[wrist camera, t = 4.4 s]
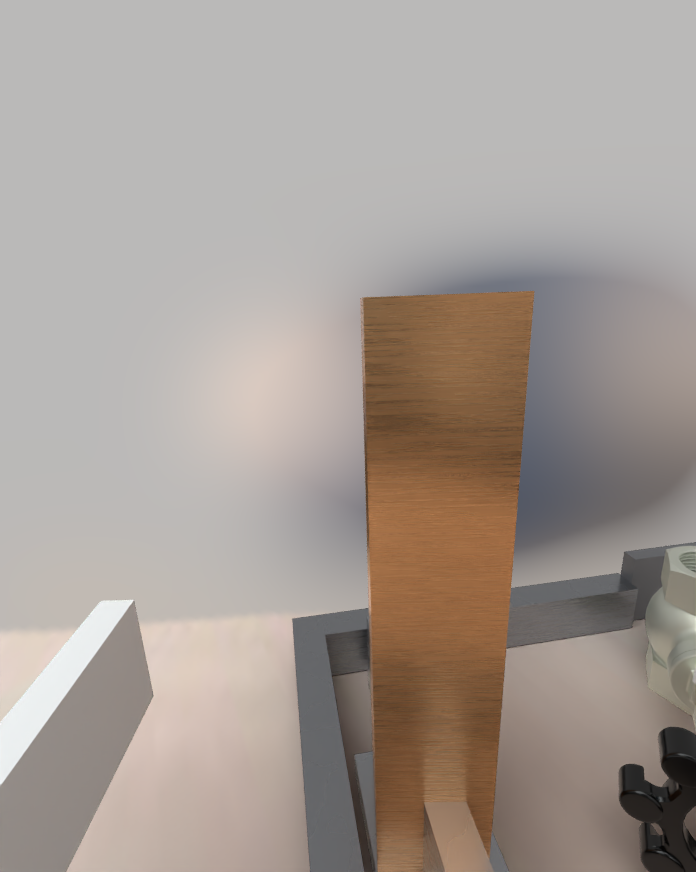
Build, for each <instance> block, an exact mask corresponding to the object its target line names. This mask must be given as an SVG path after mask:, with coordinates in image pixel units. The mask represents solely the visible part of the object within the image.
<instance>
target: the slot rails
mask: <svg viewBox="0 0 696 872" xmlns="http://www.w3.org/2000/svg"><path fill="white" fill-rule="evenodd" d="M637 594H638V588H637V587H635V586H634V585H633V584H631V583H630V582H629V581H628V580H626V579H625V578H624V577H622V576H621V575H620V574H618V573H616V574H609V575H602V576H595V577H587V578H580V579H573V580H566V581H559V582H551V583H544V584H537V585H530V586H523V587H516V588H511V593H510V605H509V618H508V631H507V643H506V648H508V647H514V646H521V645H527V644H533V643H539V642H546V641H552V640H558V639H564V638H570V637H577V636H583V635H589V634H595V633H602V632H608V631H614V630H620V629H627V628H632V623H633V618H634V612H635V606H636V600H637ZM367 616H369V608H366V609H359V610H351V611H344V612H337V613H330V614H323V615H316V616H308V617H301V618H294V619H292V621H293V635H294V649H295V663H296V677H297V692H298V706H299V720H300V734H301V748H302V762H303V777H304V791H305V805H306V819H307V833H308V847H309V862H310V872H364V868H363V862H362V856H361V850H360V844H359V838H358V832H357V826H356V819H355V813H354V807H353V801H352V795H351V789H350V783H349V777H348V771H347V765H346V759H345V753H344V747H343V741H342V735H341V729H340V723H339V717H338V711H337V705H336V699H335V693H334V687H333V680H332V676H334V675H340V674H346V673H352V672H359V671H365V670H368V651H367Z"/></svg>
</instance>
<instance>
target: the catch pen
mask: <svg viewBox="0 0 696 872" xmlns="http://www.w3.org/2000/svg"><path fill="white" fill-rule="evenodd" d="M680 546H696V542H694V543H687V544H679V545H671V546H664V547H656V548H649V549H641V550H634V551H626V552H624V557H623V564H622V570H621V576H622V577H624V578H625V579H626V580H628V581H629V582H630V583H631V584H633V585H634V586H635V587H637V588H638V594H637V600H636V606H635V612H634V618H633V620H639V619H645V615H646V609H647V606H648V604H649V602H650V600H651V598H652V596H653V595H654V594H655V593H656V592H657V591H658V590H659V589H660V588H661V587H662V582H661V573H662V568H663V563H664V557H665V552H666V549H670V548H674V547H680Z"/></svg>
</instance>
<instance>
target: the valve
mask: <svg viewBox="0 0 696 872" xmlns="http://www.w3.org/2000/svg"><path fill="white" fill-rule="evenodd" d="M661 582H662V587H661V588H660V589H659V590H658V591H657V592H656V593H655V594H654V595H653V596H652V598H651V600H650V602H649V604H648V606H647V609H646V615H645V626H646V632H647V636H648V638H649V644H648V649H647V654H646V672H647V683H648V688H649V689H651V690H652V691H654V692H655V693H657V694H658V695H660V696H662V697H663V698H665V699H666V700H668V701H669V702H671V703H672V704H674V705H675V706H677V707H678V708H680V709H682V710H683V711H685V712H686V713H688V714H689V715H691V716H693V721H694V726H695V731H696V684H695V683H694V682H693V681H692V680H693V676H694V671H695V667H696V546H680V547H674V548H670V549H666V552H665V557H664V563H663V568H662V573H661ZM658 742H659V752H660V762H661V767H662V769H663V771H664V772H665V774H666V775H667V776H668V777H669V779H668V780H667V781H666V782H665V783H664V785H663V787H658V786H655V785H653V784H651V783H649V782H648V781H646V780H644V768H643V767H642V766H640V765H636V764H626V765H624V766H622V767H621V768H620V769H619V801H620V804H621V806H622V808H623V809H624V810H625V811H626V812H627V813H628V814H629V815H630V816H632V817H633V818H635V819H637V820H639V821H642V822H643V823H642V824H641V825H640V827H639V837H640V856H641V861H642V863H643V865H644V867H645V868H646V869H647V870H648V871H649V872H696V841H695V840H694V839H693V837H692V836H691V834H690V833H689V831H688V830H687V828H686V827H685V824H684V819H685V817H686V815H687V813H688V812H689V811H690V810H691V809H692V808H694V807H695V806H696V735H695V734H694V733H692V732H690V731H688V730H686V729H683V728H679V727H668V728H665V729H663V730H662V731H661V732H660V733H659V736H658ZM651 823H657V824H658V825H659V826H660V827H661V829H662V831H663V835H659V834H658V833H657V832H656V830H655V829H654V828H653V826H652V825H651Z"/></svg>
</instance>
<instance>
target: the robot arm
mask: <svg viewBox="0 0 696 872" xmlns="http://www.w3.org/2000/svg"><path fill="white" fill-rule="evenodd" d="M692 681H693V682H694V683H695V684H696V667H695V671H694V676H693V680H692ZM152 698H153V691H152V686H151V681H150V676H149V671H148V666H147V661H146V656H145V651H144V647H143V642H142V637H141V632H140V627H139V622H138V617H137V612H136V607H135V602H134V600H118V601H100V603H99V604H98V605H97V606H96V608H95V609H94V610H93V611H92V612H91V614H90V615H89V616H88V617H87V618H86V620H85V621H84V622H83V623H82V624H81V626H80V627H79V628H78V629H77V630H76V632H75V633H74V634H73V635H72V636H71V638H70V639H69V640H68V641H67V642H66V644H65V645H64V646H63V647H62V648H61V650H60V651H59V652H58V653H57V654H56V656H55V657H54V658H53V659H52V661H51V662H50V663H49V664H48V665H47V667H46V668H45V669H44V670H43V671H42V673H41V674H40V675H39V676H38V677H37V679H36V680H35V681H34V682H33V683H32V685H31V686H30V687H29V688H28V690H27V691H26V692H25V693H24V694H23V696H22V697H21V698H20V699H19V700H18V702H17V703H16V704H15V705H14V706H13V708H12V709H11V710H10V711H9V712H8V714H7V715H6V716H5V717H4V719H3V720H2V721H1V722H0V872H66V871H67V869H68V867H69V865H70V863H71V861H72V859H73V857H74V855H75V853H76V851H77V849H78V847H79V845H80V843H81V841H82V839H83V837H84V835H85V833H86V831H87V829H88V827H89V825H90V823H91V821H92V819H93V817H94V815H95V813H96V811H97V809H98V807H99V805H100V803H101V801H102V799H103V797H104V795H105V792H106V790H107V788H108V786H109V784H110V782H111V780H112V778H113V776H114V774H115V772H116V770H117V768H118V766H119V764H120V762H121V760H122V758H123V756H124V754H125V752H126V750H127V748H128V746H129V744H130V742H131V740H132V738H133V736H134V734H135V732H136V730H137V728H138V726H139V724H140V722H141V720H142V718H143V716H144V714H145V712H146V710H147V708H148V706H149V704H150V702H151V700H152Z"/></svg>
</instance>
